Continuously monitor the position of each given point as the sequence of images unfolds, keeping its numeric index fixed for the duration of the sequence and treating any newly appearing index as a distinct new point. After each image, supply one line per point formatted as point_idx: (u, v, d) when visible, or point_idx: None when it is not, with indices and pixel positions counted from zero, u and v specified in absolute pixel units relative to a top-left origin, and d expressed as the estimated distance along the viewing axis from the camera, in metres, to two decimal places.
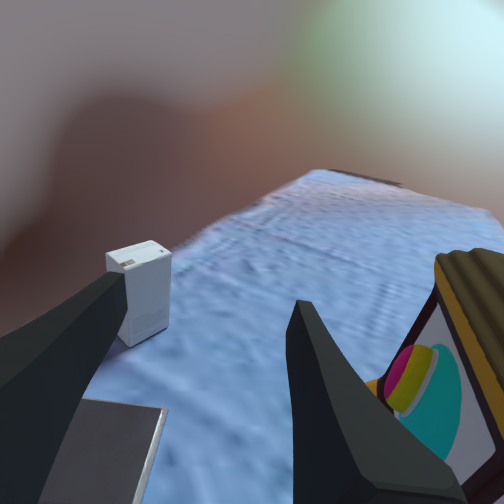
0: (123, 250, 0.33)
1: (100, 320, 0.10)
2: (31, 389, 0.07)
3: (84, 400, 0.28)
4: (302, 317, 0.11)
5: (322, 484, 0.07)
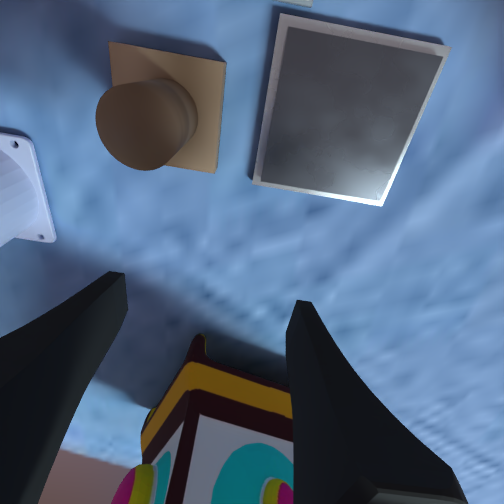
0: None
1: (100, 320, 0.10)
2: (31, 388, 0.07)
3: (435, 68, 0.15)
4: (302, 317, 0.11)
5: (322, 484, 0.07)
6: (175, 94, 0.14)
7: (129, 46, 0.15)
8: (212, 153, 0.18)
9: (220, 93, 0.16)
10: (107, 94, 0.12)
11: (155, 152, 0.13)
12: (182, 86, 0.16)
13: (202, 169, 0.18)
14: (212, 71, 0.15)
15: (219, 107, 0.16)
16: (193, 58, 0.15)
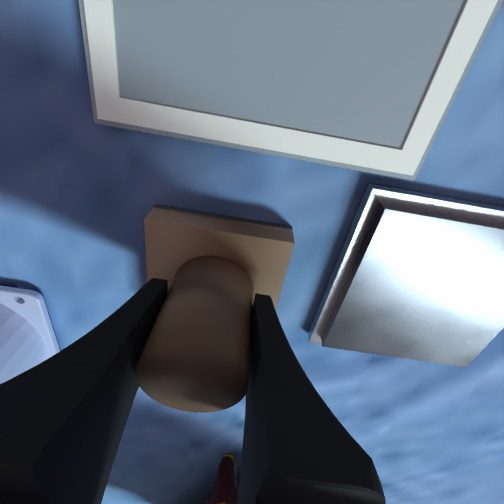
0: None
1: (149, 327, 0.10)
2: (102, 398, 0.07)
3: None
4: (256, 310, 0.11)
5: (252, 476, 0.07)
6: (237, 306, 0.10)
7: (171, 225, 0.11)
8: None
9: (285, 270, 0.12)
10: (154, 352, 0.09)
11: (214, 400, 0.10)
12: (237, 265, 0.12)
13: None
14: (278, 251, 0.12)
15: (281, 283, 0.13)
16: (254, 237, 0.12)
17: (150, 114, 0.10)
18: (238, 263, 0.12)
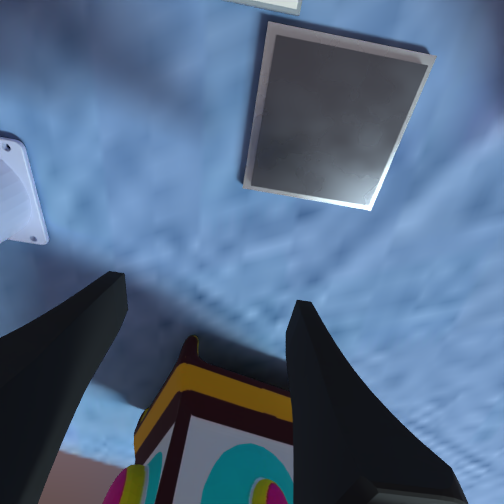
0: None
1: (100, 320, 0.10)
2: (31, 388, 0.07)
3: (420, 76, 0.15)
4: (302, 317, 0.11)
5: (322, 484, 0.07)
6: None
7: None
8: None
9: None
10: None
11: None
12: None
13: None
14: None
15: None
16: None
17: None
18: None
